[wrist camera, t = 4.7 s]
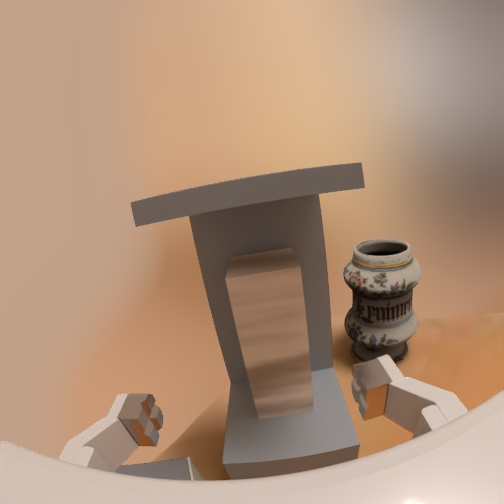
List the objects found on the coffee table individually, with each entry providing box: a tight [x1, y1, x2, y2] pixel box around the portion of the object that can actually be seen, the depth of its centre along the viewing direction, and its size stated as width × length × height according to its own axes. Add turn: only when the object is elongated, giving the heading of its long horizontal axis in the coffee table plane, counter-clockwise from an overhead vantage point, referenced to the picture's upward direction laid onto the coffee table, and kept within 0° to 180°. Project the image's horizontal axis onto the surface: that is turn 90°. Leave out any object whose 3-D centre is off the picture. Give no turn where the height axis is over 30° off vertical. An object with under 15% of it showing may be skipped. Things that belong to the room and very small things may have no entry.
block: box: [225, 248, 314, 419], centre depth 23 cm, size 5×5×14 cm
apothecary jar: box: [344, 238, 421, 363], centre depth 39 cm, size 12×12×18 cm
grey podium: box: [131, 163, 365, 480], centre depth 22 cm, size 12×11×30 cm
